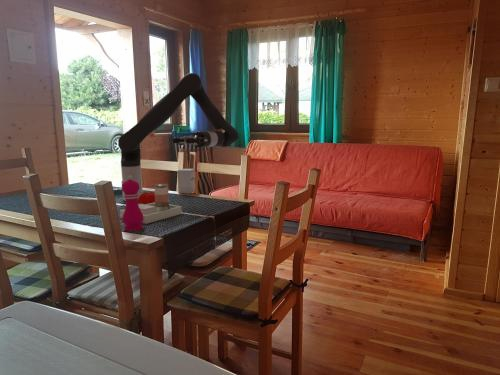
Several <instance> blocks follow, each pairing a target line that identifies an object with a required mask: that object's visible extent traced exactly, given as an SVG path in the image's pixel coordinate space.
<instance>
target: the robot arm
mask: <svg viewBox="0 0 500 375" xmlns="http://www.w3.org/2000/svg"><path fill="white" fill-rule="evenodd" d="M189 97H192V99H193V100H194V101H195V102H196V104H197V105H198V106H199V108H200V109H201V111H202V112H203V114H204V116H205V118H206V119H207V120H208V122H209V123H210V125H211V126H212V127H213V129H214V130H201V131H199V130H198V131H196V132H195V133H194V134H193V135H184V136H183V137H182V136H181V137H179V136H177V137H173V138H172V140H171V141H172V143H173V144H184V145H195V147H197V148H199V149H202V148H203V149H204V148H211V147H217V146H219V147H222V148H227V147H229V146H231V145H232V144H234V143H236V142H237V141H238V140H239V137H240V135H239V132H238V130H237V129H236V128H235V127H233V125H231V124H230V123H229V122H228V121H227V120H226V119H225V117H224V116H223V114H222V113H221V111H220V110H219V108H217V106H216V105H215V104H214V102H213V101H212V100H211V99H210V97H209V96H208V94H207V93H206V91H205V88H204V87H203V83H202V80H201V77H200V75H199V74H198V73H195V72H189V73H187V74H185V75H183V77H182V78H181V79H180V81H179V82H178V83H177V84H176V85H175V86H174V87H173V88H172V90H170V91H169V92H168V93H166V95H164V96H163V97H161V99H159V100H158V101H157V102H155V104H154V105H153V106H152V107H151V108H149V110H148V111H146V113H144V115H143V116H141V118H140V120H139V121H138V122H137V123H136V124H134V126H132V127H131V128H130V129H128V130H127V131H126V132H125V133H122V134H121V136H120V137H119V138H118V141H117V144H118V147H119V149H120V154H121V155H120V156H121V157H120V168H121V185H122V184H123V183H124V182H125V181H127V180H128V179H127V177H128V176H132V177H133V179H132V180H135V181H137V182H138V183H139V187H140V188H139V191H138V192H137V193H138V196H140V195H141V194H142V193H144V192H143V178H142V177H143V176H142V166H141V159H142V158H141V157H142V156H141V143H142V142H143V141H144V140H145V138H147V137H148V135H150V134H151V133H153V132H155V131H156V130H158V129H159V128H161V126H162V125H164V123H165V124H166V122H167V121H168V120H170V118H171V117H172V116H173V115H175V113H176V111H177V110H178V108H179V107H180V106H181V105H182V103H183V102H184V101H185V100H186V99H187V98H189ZM220 130H223V131H224V132H222V131H220ZM121 192H122V194H121V195H122V200H123V202H126V200H125V198H124V194H125V193H124V192H123V191H122V190H121ZM138 198H139V197H138Z"/></svg>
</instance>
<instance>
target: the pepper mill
mask: <svg viewBox="0 0 500 375" xmlns="http://www.w3.org/2000/svg"><path fill="white" fill-rule="evenodd" d="M127 179H128V180H127V181H125V182H124V183H123V184H122V183H121V192H122V191H123V192H124V193H125V194H124V198H125V200H126V201H125V211H124V214H123V217H122V218H121V219H122V223H123V224H124V227H123V228H124V231H128V232H131V231H139V230H141V229H143V228H144V225H143V223H142V222H143V220H144V218H143V214H142V212H141V210H140V208H139V206H138V197H139V196H138V193H137V192H138V191H139V188H140V187H139V183H138V182H137V181H135V180H132V179H133V177H132V176H128V177H127Z"/></svg>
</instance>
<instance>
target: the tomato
mask: <svg viewBox="0 0 500 375" xmlns="http://www.w3.org/2000/svg"><path fill="white" fill-rule="evenodd" d="M154 202H155V191H151V192H147V191H145V192H143V193H142V194H141V195H140V196H139V198H138V204H144V205H145V204H150V203H154Z"/></svg>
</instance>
